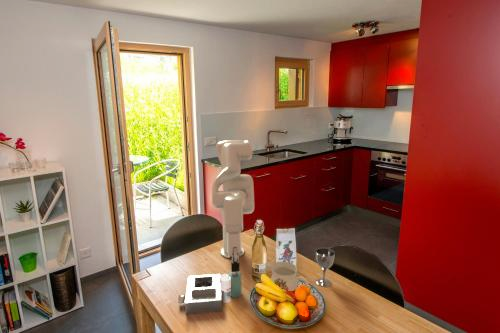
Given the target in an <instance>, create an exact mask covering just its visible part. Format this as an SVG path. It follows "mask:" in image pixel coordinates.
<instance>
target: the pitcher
mask: <svg viewBox="0 0 500 333" xmlns="http://www.w3.org/2000/svg"><path fill="white" fill-rule="evenodd" d="M265 264H266V266H267V268H269V269H270V271H271V278H270V281H271V280H272V281H273V282H274V283H275V284H276V285H278V286H279V287H281V288H282V289H284V290H286V291H294V290H295V289H296V288H297V289H298V286H299V284H298V283H299V281H303V282H304V285H305V287H306V286H307V287H308V288H309V280H307V278H306V277H304V276H297V272H298V267H297V265H295V264H293V263H291V262H288V261H272V262H271V261H268V262H266V263H265Z"/></svg>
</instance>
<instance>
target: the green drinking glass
mask: <svg viewBox="0 0 500 333" xmlns="http://www.w3.org/2000/svg"><path fill="white" fill-rule="evenodd" d="M229 276H230V277H231V296H232V297H231V296H230V297H231V298H233V299H234V298H235V299H236V298H240V297H241V296H242V274H241V272H240V271H239V272H232V271H231V272H229V273H228V277H229Z"/></svg>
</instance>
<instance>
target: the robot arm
mask: <svg viewBox="0 0 500 333" xmlns="http://www.w3.org/2000/svg"><path fill="white" fill-rule="evenodd" d="M215 150H216V155H217V157H218V161H219V163H220V165H221V171H220V172H219V173H218V174H217V175H216V177H215V178H214V180H213V182H212V186H211V203H212V206H213V207H214V209H217V210H220V212H221V219H222V240H223V242H222V244H223V245H222V246H223V247H222V248H221V250H220V255H221V256H222V257H224V258H227V259H229V260H231V262H230V264H231V265H230V266H231V268H230V270H231V272H239V273H240V269H241V268H240V260H239V259H240V257H242V256H243V255H244V254H245V249H244V248H243V246H242V232H243V231H244V215H249V214H250V215H251V214H252V213H253V212H254V211H255V190H254V189H255V188H254V187H255V186H254V179H253V177H252V176H251V175H250V174H244V173H243V174H241V172H242V171H241V170H242V168H241V161H250V160H252V157H253V146H252V144H251V142H250V141H249V140H247V139H245V140H243V139H241V140H229V139H228V140H222V141H219V142H217V143H216V145H215ZM221 186H222V189H223V190H219V189H220V188H221Z"/></svg>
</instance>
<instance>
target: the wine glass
mask: <svg viewBox="0 0 500 333" xmlns="http://www.w3.org/2000/svg"><path fill="white" fill-rule="evenodd" d="M335 256H336V255H335V251H334V250H333V249H331V248H328V247H319V248H317V249H315V260H316V264H317V265H318V267H319V268H320V269H321V270H322V277H318V278H316V279H315V284H316V285H317V286H319V287H322V288H328V287H329V288H330V287H331V286H332V284H333V282H332V281H331V279H329V278H326V272H327V271H328V269H330V268H332V266H333V265H334V261H335Z"/></svg>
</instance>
